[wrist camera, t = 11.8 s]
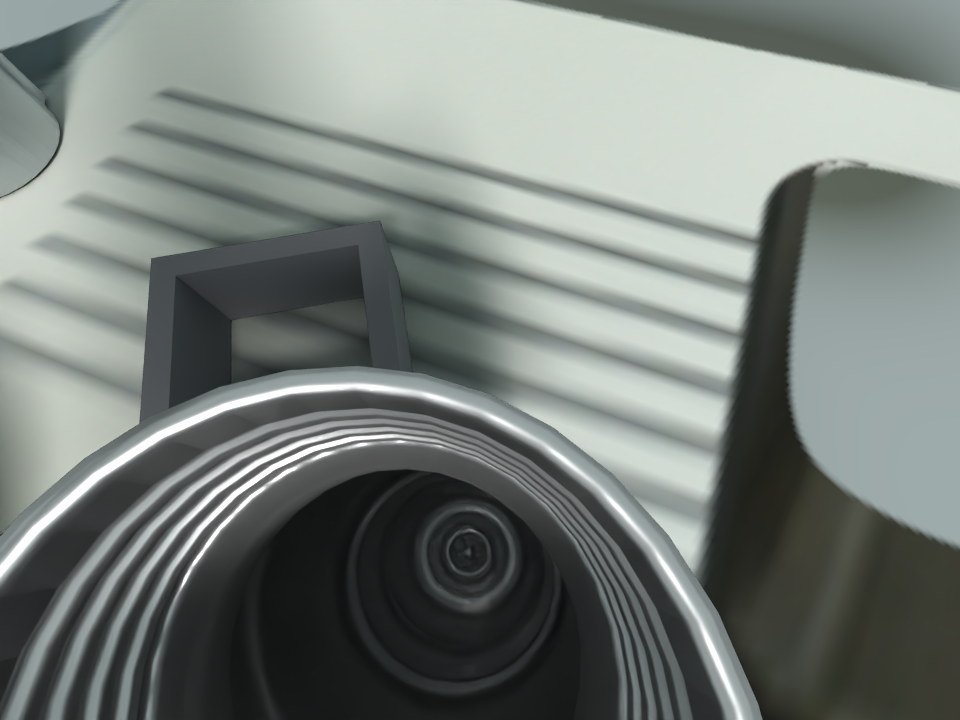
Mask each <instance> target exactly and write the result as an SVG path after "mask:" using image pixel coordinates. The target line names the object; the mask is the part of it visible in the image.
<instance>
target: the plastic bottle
mask: <svg viewBox="0 0 960 720" xmlns="http://www.w3.org/2000/svg"><path fill="white" fill-rule="evenodd" d="M0 720H762V717H761V713H760V710H759V706H758V703H757V701H756V698H755V696H754V694H753V692H752V689H751V687H750V685H749V682H748V680H747V678H746V676H745V673H744V671H743V669H742V666H741V664H740V662H739V660H738V657H737V655H736V653H735V650H734V648H733V646H732V644H731V641H730V639H729V637H728V634H727V632H726V630H725V628H724V625H723V623H722V621H721V618H720V616H719V614H718V612H717V610H716V609H715V607H714V605H713V604H712V602H711V601H710V599H709V598H708V596H707V595H706V593H705V591H704V590H703V588H702V587H701V585H700V584H699V582H698V581H697V579H696V577H695V576H694V574H693V573H692V571H691V570H690V568H689V567H688V565H687V563H686V562H685V560H684V559H683V557H682V556H681V554H680V553H679V551H678V549H677V548H676V546H675V545H674V543H673V542H672V540H671V539H670V537H669V535H668V534H667V533H666V532H665V531H664V530H663V529H662V528H661V527H660V525H659V524H658V523H657V522H656V521H655V520H654V519H653V518H652V517H651V516H650V514H649V513H648V512H647V511H646V510H645V509H644V508H643V507H642V506H641V505H640V503H639V502H638V501H637V500H636V499H635V498H634V497H633V496H632V495H631V494H630V492H629V491H628V490H627V489H626V488H625V487H624V486H623V485H622V484H621V482H620V481H619V480H618V479H617V478H616V477H615V476H614V475H613V474H612V473H611V472H610V471H608V470H607V469H606V468H604V467H603V466H602V465H601V464H599V463H598V462H597V461H595V460H594V459H593V458H592V457H590V456H589V455H588V454H586V453H585V452H584V451H583V450H581V449H580V448H579V447H577V446H576V445H575V444H574V443H572V442H571V441H570V440H568V439H567V438H566V437H565V436H563V435H562V434H561V433H559V432H558V431H557V430H556V429H554V428H553V427H551V426H549V425H548V424H546V423H544V422H542V421H540V420H538V419H536V418H534V417H532V416H530V415H528V414H527V413H525V412H523V411H521V410H519V409H517V408H515V407H513V406H511V405H509V404H507V403H506V402H504V401H502V400H500V399H498V398H496V397H494V396H492V395H490V394H488V393H484V392H481V391H478V390H475V389H471V388H468V387H465V386H462V385H459V384H455V383H452V382H449V381H446V380H442V379H439V378H436V377H433V376H429V375H426V374H422V373H413V372H405V371H396V370H388V369H379V368H371V367H362V366H347V367H331V368H315V369H300V370H287V371H283V372H279V373H275V374H271V375H267V376H263V377H258V378H254V379H250V380H246V381H242V382H238V383H234V384H230V385H226V386H221V387H218V388H216V389H214V390H211V391H209V392H207V393H204V394H202V395H200V396H197V397H195V398H193V399H190V400H188V401H186V402H183V403H181V404H179V405H176V406H174V407H172V408H169V409H167V410H165V411H162V412H160V413H158V414H155V415H153V416H151V417H149V418H148V419H146V420H145V421H143V422H141V423H140V424H138V425H137V426H135V427H134V428H132V429H130V430H129V431H127V432H126V433H124V434H122V435H121V436H119V437H118V438H116V439H115V440H113V441H111V442H110V443H108V444H107V445H105V446H103V447H102V448H100V449H99V450H97V451H96V452H94V453H92V454H91V455H89V456H88V457H86V458H84V459H83V460H82V461H81V462H80V463H79V464H77V465H76V466H75V467H74V468H73V469H72V470H70V471H69V472H68V473H67V474H66V475H65V476H64V477H62V478H61V479H60V480H59V481H58V482H57V483H55V484H54V485H53V486H52V487H51V488H50V489H48V490H47V491H46V492H45V493H44V494H43V495H42V496H40V497H39V498H38V499H37V500H36V501H35V502H33V503H32V504H31V505H30V506H29V507H28V508H27V509H25V510H24V511H23V512H22V513H21V514H20V515H18V517H17V518H16V519H15V520H14V521H13V522H12V524H11V525H10V526H9V527H8V528H7V529H6V530H5V532H4V533H3V534H2V535H1V536H0Z"/></svg>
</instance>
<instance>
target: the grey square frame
mask: <svg viewBox="0 0 960 720" xmlns="http://www.w3.org/2000/svg"><path fill="white" fill-rule="evenodd" d="M360 297H364V300H365V308H366V317H367V326H368V335H369V343H370V352H371V361H372V368H379V369H388V370H396V371H405V372H413V370H412V363H411V357H410V350H409V343H408V336H407V329H406V323H405V316H404V309H403V302H402V295H401V289H400V282H399V275H398V271H397V268H396V265H395V263H394V260H393V257H392V254H391V251H390V248H389V245H388V243H387V240H386V237H385V234H384V231H383V228H382V225H381V223H380V221H374V222H368V223H362V224H356V225H350V226H344V227H338V228H332V229H326V230H320V231H314V232H308V233H302V234H296V235H290V236H284V237H278V238H272V239H266V240H260V241H254V242H248V243H242V244H236V245H230V246H224V247H218V248H211V249H205V250H199V251H193V252H187V253H181V254H175V255H169V256H163V257H157V258H151V272H150V285H149V299H148V313H147V327H146V340H145V354H144V368H143V382H142V396H141V409H140V423H141V422H143V421H145V420H146V419H148V418H149V417H151V416H153V415H155V414H158V413H160V412H162V411H165V410H167V409H169V408H172V407H174V406H176V405H179V404H181V403H183V402H186V401H188V400H190V399H193V398H195V397H197V396H200V395H202V394H204V393H207V392H209V391H211V390H214V389H216V388H218V387H221V386H226V385H230V384H231V320H234V319H239V318H245V317H251V316H257V315H262V314H268V313H274V312H280V311H285V310H291V309H297V308H303V307H308V306H314V305H320V304H325V303H331V302H337V301H343V300H348V299H354V298H360ZM140 423H139V424H140Z"/></svg>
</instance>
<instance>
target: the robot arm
mask: <svg viewBox="0 0 960 720" xmlns="http://www.w3.org/2000/svg"><path fill="white" fill-rule="evenodd" d="M45 99H46V96H45V95H44V94H43V93H42V92H41V91H40V90H39V89H38V88H37V87H36V86H35V85H34V84H33V83H32V82H31V81H30V80H29V79H28V78H27V77H26V76H25V75H24V74H23V73H22V72H21V71H20V70H19V69H18V68H16V67H15V66H14V65H13V64H12V63H11V62H10V61H9V60H8V59H7V58H6V57H5V56H4V55H3V54H2V53H1V52H0V197H1V196H4V195H6V194H9V193H11V192H12V191H14V190H16V189H18V188H20V187H22V186H23V185H25V184H26V183H27V182H29V181H30V180H31V179H33V178H34V177H35V176H36V175H37V174H38V173H39V172H40V171H41V170H42V169H43V168H44V167H45V166H46V165H47V164H48V162H49V161H50V159H51V158H52V156H53V155H54V153H55V150H56V148H57V146H58V143H59V137H60V129H59V123H58V121H57V119H56V117H55V116H54V114H53V113H52V112H50V111H49V110H48V109H47V107H46V106H45ZM2 534H3V533H2ZM2 534H0V536H1V535H2Z"/></svg>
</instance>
